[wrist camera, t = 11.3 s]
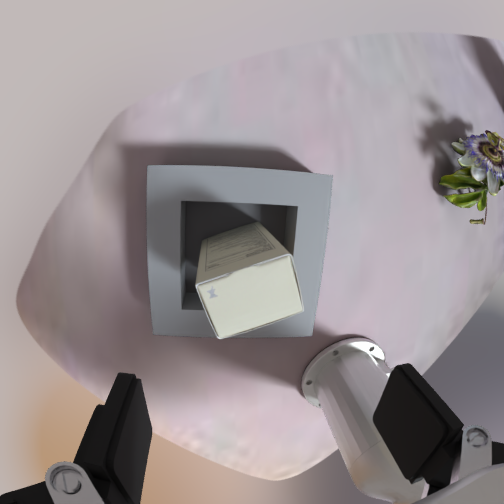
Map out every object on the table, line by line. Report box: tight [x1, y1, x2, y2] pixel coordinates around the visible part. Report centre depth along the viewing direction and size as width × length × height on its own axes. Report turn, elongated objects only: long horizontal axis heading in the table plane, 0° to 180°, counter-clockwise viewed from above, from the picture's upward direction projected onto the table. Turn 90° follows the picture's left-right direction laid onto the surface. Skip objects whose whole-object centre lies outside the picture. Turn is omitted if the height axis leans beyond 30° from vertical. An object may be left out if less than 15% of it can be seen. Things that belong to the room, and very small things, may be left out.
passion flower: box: [439, 130, 504, 225], centre depth 27 cm, size 11×11×12 cm
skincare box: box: [195, 222, 304, 339], centre depth 23 cm, size 6×4×12 cm
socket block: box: [146, 165, 333, 338], centre depth 28 cm, size 16×16×5 cm
